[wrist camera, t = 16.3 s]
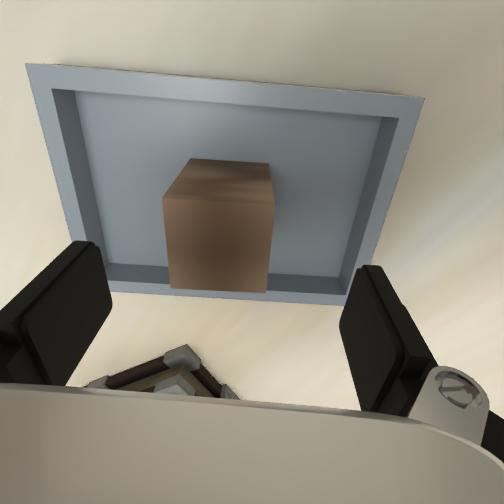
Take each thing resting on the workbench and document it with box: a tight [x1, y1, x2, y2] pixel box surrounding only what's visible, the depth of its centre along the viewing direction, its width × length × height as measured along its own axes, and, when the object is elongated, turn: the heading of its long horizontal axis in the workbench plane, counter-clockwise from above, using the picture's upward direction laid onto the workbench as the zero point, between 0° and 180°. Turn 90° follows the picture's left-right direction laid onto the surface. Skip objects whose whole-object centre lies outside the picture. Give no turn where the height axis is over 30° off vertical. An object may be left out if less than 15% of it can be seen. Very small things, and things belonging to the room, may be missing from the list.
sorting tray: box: [25, 63, 425, 306], centre depth 20 cm, size 20×14×3 cm
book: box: [84, 345, 240, 400], centre depth 35 cm, size 15×25×5 cm, turn 28°
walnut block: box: [162, 158, 276, 293], centre depth 18 cm, size 5×5×7 cm
